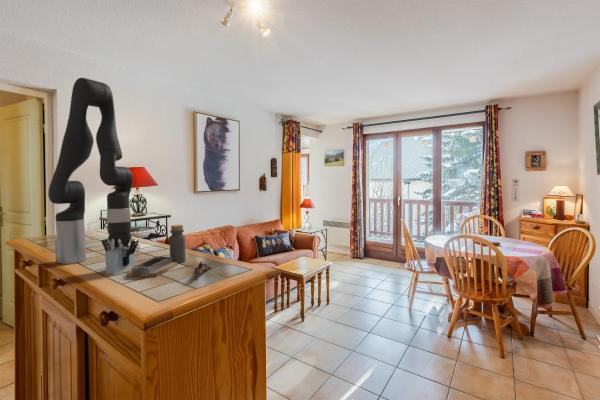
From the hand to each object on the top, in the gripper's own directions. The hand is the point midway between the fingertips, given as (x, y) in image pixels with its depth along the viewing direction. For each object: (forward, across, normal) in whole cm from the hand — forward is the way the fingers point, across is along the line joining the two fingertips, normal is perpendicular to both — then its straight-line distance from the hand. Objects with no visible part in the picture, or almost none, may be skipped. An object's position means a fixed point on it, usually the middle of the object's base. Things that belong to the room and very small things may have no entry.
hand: (121, 265), depth 112 cm
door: (+1, 0, 0) cm, 1 cm away
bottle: (+2, +16, +12) cm, 20 cm away
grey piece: (+1, +13, 0) cm, 13 cm away
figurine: (+2, +33, -2) cm, 33 cm away
